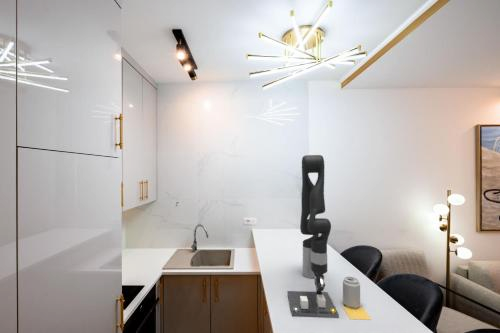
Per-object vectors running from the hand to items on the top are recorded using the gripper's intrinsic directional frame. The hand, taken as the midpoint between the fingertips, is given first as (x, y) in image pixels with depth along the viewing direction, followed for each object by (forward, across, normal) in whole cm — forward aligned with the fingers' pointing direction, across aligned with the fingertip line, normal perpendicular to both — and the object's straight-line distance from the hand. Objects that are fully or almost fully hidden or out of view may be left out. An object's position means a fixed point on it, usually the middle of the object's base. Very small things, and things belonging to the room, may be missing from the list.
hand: (318, 297), depth 112 cm
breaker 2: (+1, +4, 0) cm, 4 cm away
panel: (+3, +1, -4) cm, 5 cm away
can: (+3, 0, +15) cm, 15 cm away
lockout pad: (+3, +6, +15) cm, 16 cm away
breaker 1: (+1, +5, -8) cm, 10 cm away
